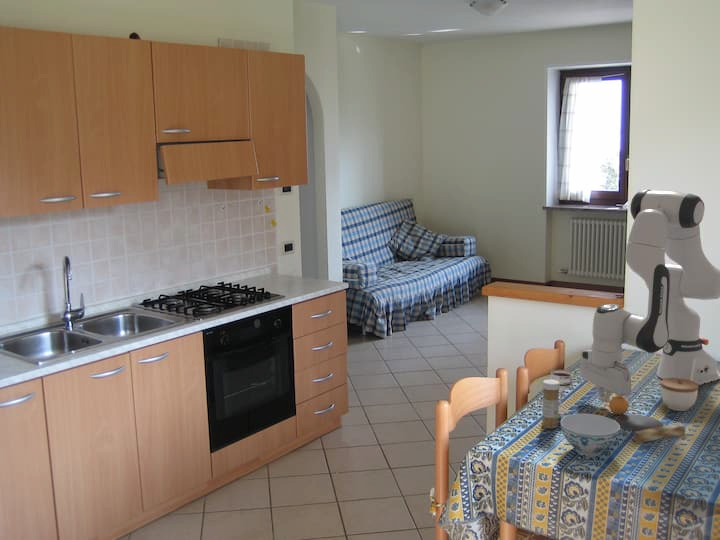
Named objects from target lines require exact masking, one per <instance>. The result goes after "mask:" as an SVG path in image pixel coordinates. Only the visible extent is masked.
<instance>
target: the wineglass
mask: <svg viewBox="0 0 720 540" xmlns="http://www.w3.org/2000/svg"><path fill="white" fill-rule="evenodd" d="M573 376H574V373H573V372H572V371H569V370H564V369H556V370H551V371H550V378H549V379H551V380H557V381H559V384H560V385H559V407H558V415H567V414H569V410H567V409H566V408H562V400H563V392H564V391H566V390H568V389H569V388H570V387H571V386H572V385H573V383H574V378H573Z"/></svg>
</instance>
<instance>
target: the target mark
mask: <svg viewBox="0 0 720 540" xmlns="http://www.w3.org/2000/svg"><path fill="white" fill-rule="evenodd" d="M614 421H616V422H617V423H618V424H619V425H620V428H623V429H626V430H630V431H634V432H635V431H640V430H646V429H651V428H657V427H663V426H664V424H663V422H661V421H660V420H659V419H657V418H654V417H650V416H646V415H641V414H622V415H620V416H619V415H618V416H617V417H616V418H615V419H614Z"/></svg>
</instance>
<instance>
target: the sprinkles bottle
mask: <svg viewBox="0 0 720 540" xmlns="http://www.w3.org/2000/svg"><path fill="white" fill-rule="evenodd" d="M559 385H560V384H559V381H557V380H551V379H550V378H549V379H545V380H543V381H542V388H543V394H542V423H541V426H543V427H544V428H546V429H556V428H558V427H559V424H558V421H559V420H558V419H559V414H558V408H560V391H559Z"/></svg>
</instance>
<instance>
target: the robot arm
mask: <svg viewBox="0 0 720 540" xmlns="http://www.w3.org/2000/svg"><path fill="white" fill-rule="evenodd" d="M629 210H630V213H631V214H630V215H631V217H632V219H633V220H634V221H633V224H632V226H631V230H630V232H629V236H628V240H627V245H626V248H625V249H626V250H625V262H626V263H627V266H628V267H629V269H630V270H631V271H632V272H634V273H635V274H636V275H637V276H638V277H640V278H641V279H642V280H643V281H644V283H645V286H646V288H647V289H648V303H647V316H643V315H639V314H637V313H634V312H629V311H627V310H626V309H623V308H622V306H621V305H619V304H615V303H610V304H609V303H607V304H602V305H599V306H598V307H596V309H595V312H594V315H593V319H592V320H593V321H592V330H591V331H592V339H593V341H592V344H591V349H585V350H581V352H580V357H581V360H580V366H579V367H580V370H579V372H580V377H581V379H583V380H584V381H587V382H589V383H591V384H593V385H595V386H596V390H597V393H598V400H599V401H601V402H603V403H605V404H607V403H608V404H609V402H610V400H611V399H610V398H611V396H612V395H613V394H614V395H616V396H621V397H627V396H631V394H632V376H631V373H630V370H629V369H628V366H627V365H625V364H622V359H623V358H622V357H623V346H622V345H623V344H624V345H628V346H631V347H633V348H636V349H639V350H641V351H644V352H646V353H649V354H654V353H657V352H658V351H661V355H660V359H659V365H658V367H657V372H656V376H657V377H658V378H660V379H661V380H663V379H667V378H682V379H687V380H691V381H693V382H696V383H697V384H698V386H701V385H704V383H705V384H707V383H712V382H715V381H718V379H719V380H720V371H719V370H718V363H717V360H716V358H715V357H713V356H712V355H711V354H710V353H708V352H707V350H705V349H704V348H703V345H705V346H708V345H709V339H707V338H705V337H703V338H700V330H701V329H700V328H701V317H700V315H699V313H698V312H697V311H696V310H694V309H693V308H691V307H690V306H688V305H687V303H686V302H685V299H691V300H702V301H708V300H718V299H719V298H720V269H719V268H717V267H715V266H714V265H713V264H712V263H711V262H710V260H709V259H708V258H707V257H706V255H705V253H704V251H703V248H702V241H701V229H700V223H701V222H702V221H703V219H704V214H705V203H704V200H702V198H701V197H700V196H698V195H696V194H693V193H685V192H680V191H675V190H674V191H672V190H668V191H667V190H651V189H644V190H639V191H638V192H636V193H635V194H634V196H633V197H632V200H631V201H630V209H629ZM665 256H667V257H668V259H670V260H671V261H673V262H675V264H674V263H666V257H665ZM684 298H685V299H684ZM711 381H712V382H711Z"/></svg>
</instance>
